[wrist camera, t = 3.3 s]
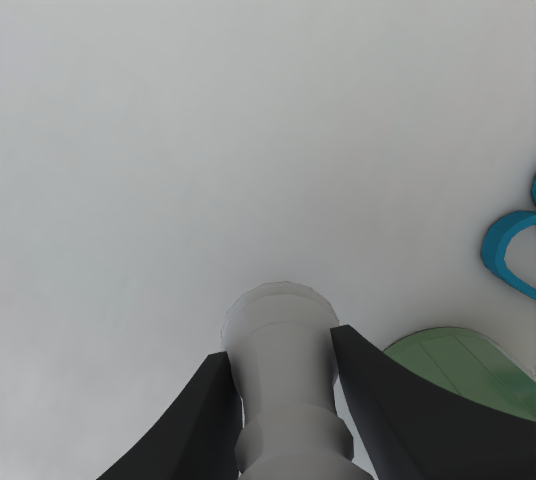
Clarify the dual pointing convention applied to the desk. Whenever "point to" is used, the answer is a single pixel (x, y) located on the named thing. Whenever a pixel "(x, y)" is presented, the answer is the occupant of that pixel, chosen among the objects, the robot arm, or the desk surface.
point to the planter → (469, 368)
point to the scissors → (499, 241)
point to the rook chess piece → (287, 386)
